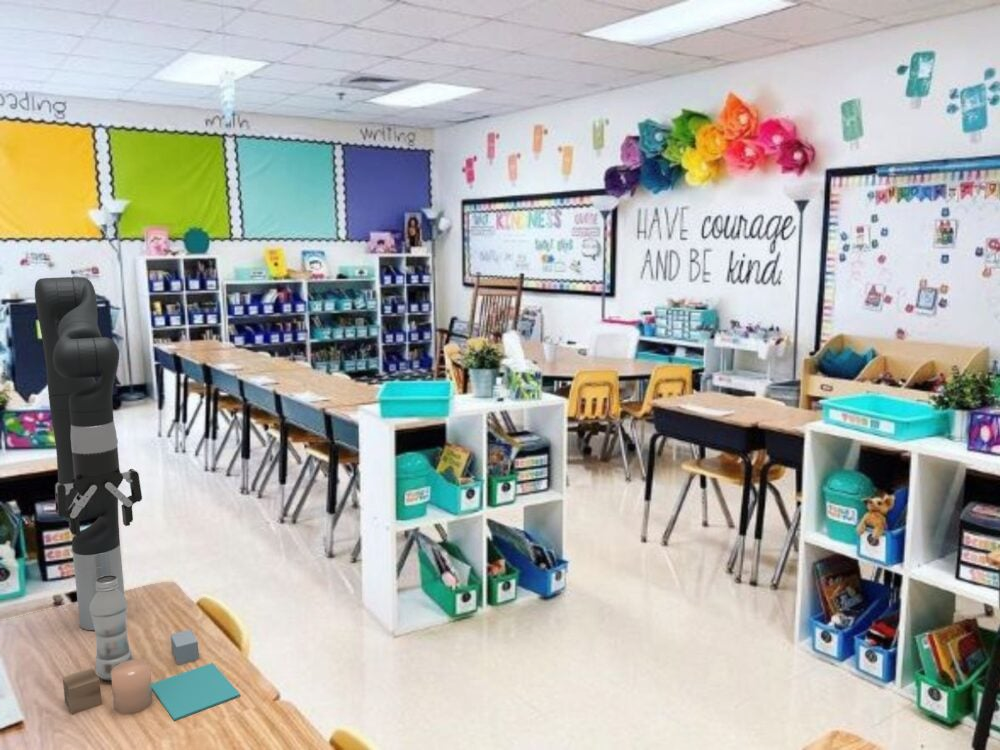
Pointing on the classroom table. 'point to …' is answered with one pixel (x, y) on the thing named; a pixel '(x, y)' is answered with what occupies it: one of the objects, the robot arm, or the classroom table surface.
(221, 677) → the teal mat
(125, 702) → the beige domed cylinder
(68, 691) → the walnut block
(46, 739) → the classroom table surface
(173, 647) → the slate grey box
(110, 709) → the classroom table surface
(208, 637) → the classroom table surface
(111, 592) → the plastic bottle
